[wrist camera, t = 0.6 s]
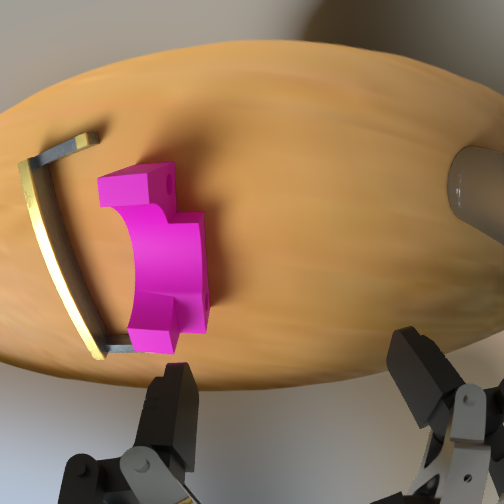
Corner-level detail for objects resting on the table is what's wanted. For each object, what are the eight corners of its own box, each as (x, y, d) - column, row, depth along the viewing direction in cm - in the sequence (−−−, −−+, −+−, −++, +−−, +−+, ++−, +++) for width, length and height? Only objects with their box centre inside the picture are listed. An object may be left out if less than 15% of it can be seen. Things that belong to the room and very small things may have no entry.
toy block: (210, 306, 29) (202, 355, 22) (154, 304, 29) (134, 350, 22) (202, 159, 23) (185, 170, 16) (136, 164, 23) (97, 178, 16)
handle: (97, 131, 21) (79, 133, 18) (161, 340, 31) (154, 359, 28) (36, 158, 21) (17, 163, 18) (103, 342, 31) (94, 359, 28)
